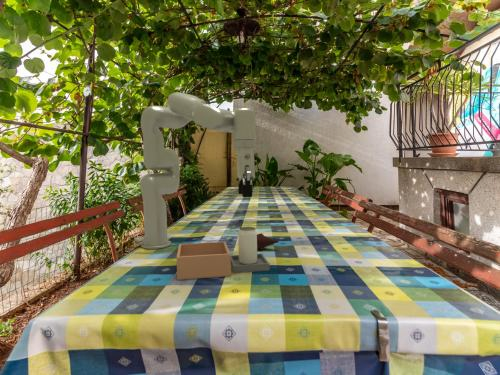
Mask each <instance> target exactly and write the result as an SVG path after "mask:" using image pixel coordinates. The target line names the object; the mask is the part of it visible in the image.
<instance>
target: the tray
mask: <svg viewBox="0 0 500 375" xmlns="http://www.w3.org/2000/svg"><path fill="white" fill-rule="evenodd" d="M270 270H271V266H270V262H269V261H268V259H267V258H266V257H265V256H264V254H263V253H257V262H256V263H255V264H249V265H245V264H241V263H240V262H239V254H235V255H233V254H232V255H231V271H232V272H233V274H238V273H252V272H254V273H255V272H266V271H270Z"/></svg>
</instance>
